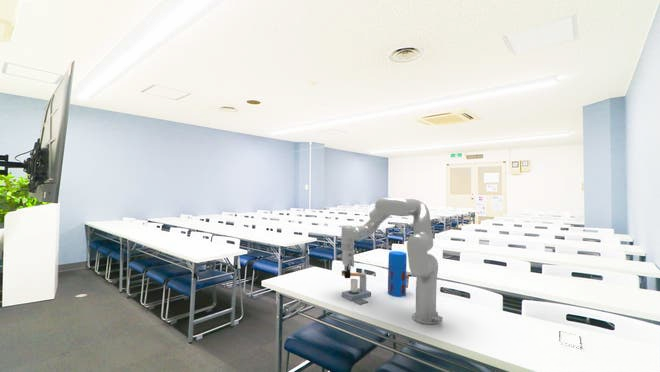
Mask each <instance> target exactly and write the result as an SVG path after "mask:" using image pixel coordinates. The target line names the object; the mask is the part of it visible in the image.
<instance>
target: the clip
mask: <svg viewBox="0 0 660 372" xmlns="http://www.w3.org/2000/svg"><path fill="white" fill-rule="evenodd" d="M344 271H345V270H341V276H343V277H344ZM360 276H362V277H365V276H366V277H367V273H366V272H350V277H360Z"/></svg>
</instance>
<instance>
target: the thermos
mask: <svg viewBox="0 0 660 372" xmlns="http://www.w3.org/2000/svg"><path fill="white" fill-rule="evenodd" d="M407 261H408V254H407V252H404V251H399V250H393V251H392V250H391V251H388V263H387V264H388V266H387V274H388V275H387V294H388V295H389V296H391V297H396V298H403V297H405V296H406V292H407Z"/></svg>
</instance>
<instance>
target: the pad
mask: <svg viewBox="0 0 660 372" xmlns="http://www.w3.org/2000/svg"><path fill="white" fill-rule="evenodd" d="M352 302H353V303H356V304H357V305H360V306H361V305H365V304H368V303H369V301H367V300H365V298H360V299H356V300H353V301H352Z"/></svg>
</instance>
